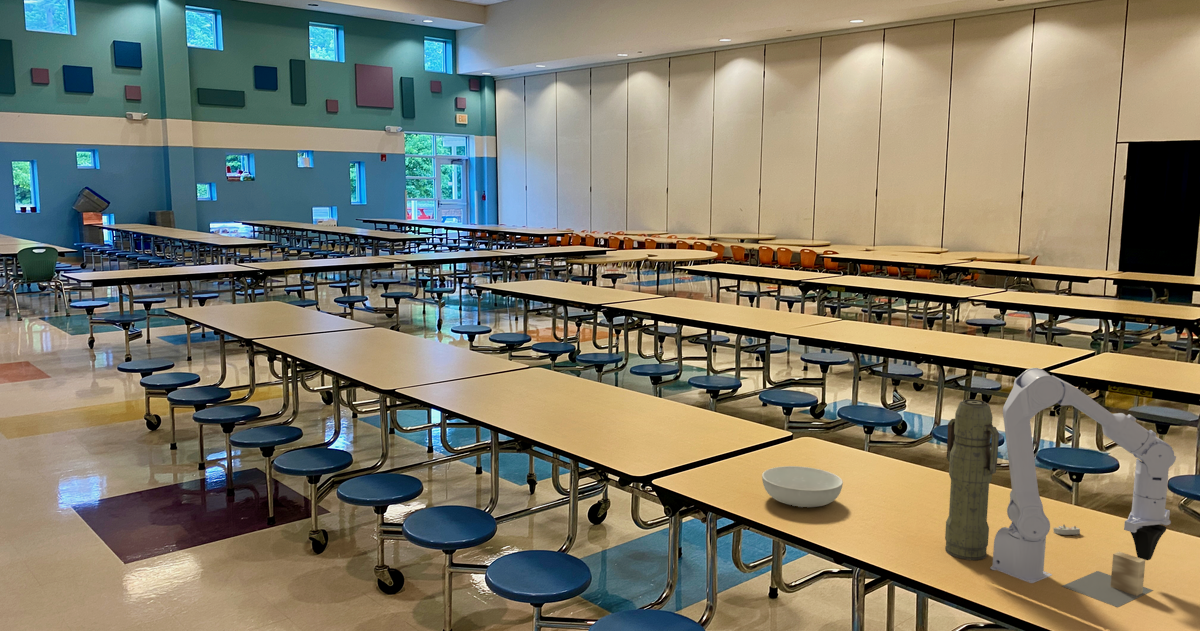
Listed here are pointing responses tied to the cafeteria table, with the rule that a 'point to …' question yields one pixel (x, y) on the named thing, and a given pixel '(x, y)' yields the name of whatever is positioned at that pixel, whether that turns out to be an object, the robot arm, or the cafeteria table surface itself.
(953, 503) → the thermos
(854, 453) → the cafeteria table surface
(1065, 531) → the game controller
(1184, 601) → the cafeteria table surface
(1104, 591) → the rubber mat
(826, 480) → the serving bowl
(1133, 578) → the green-faced wooden block
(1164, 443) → the robot arm
